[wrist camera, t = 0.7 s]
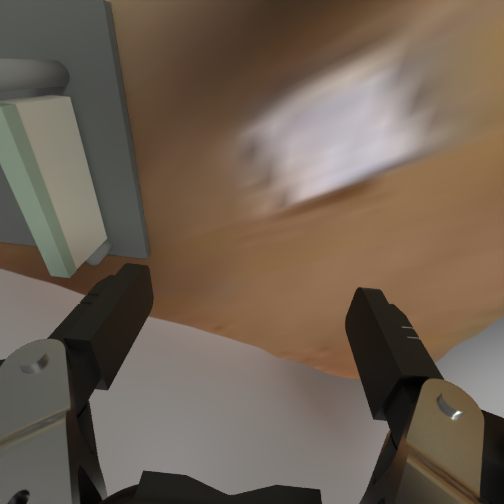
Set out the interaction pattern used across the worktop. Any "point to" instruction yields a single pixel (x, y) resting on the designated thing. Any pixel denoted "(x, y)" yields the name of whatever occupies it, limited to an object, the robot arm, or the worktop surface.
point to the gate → (51, 179)
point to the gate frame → (75, 109)
